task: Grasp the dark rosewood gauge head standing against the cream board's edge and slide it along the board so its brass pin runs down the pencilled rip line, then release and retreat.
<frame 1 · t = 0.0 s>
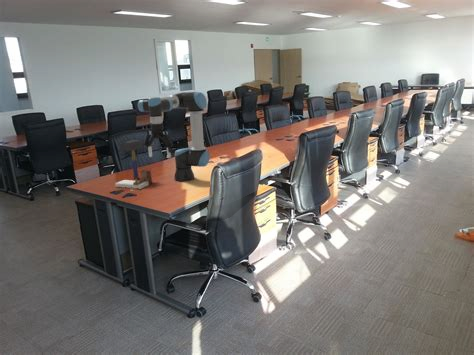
hand: (159, 157, 248), 28 cm above the table, fingers open, 13 cm apart
gauge: (146, 183, 296), on the table
board: (132, 185, 291), on the table
rubber mallet: (136, 178, 312), on the table
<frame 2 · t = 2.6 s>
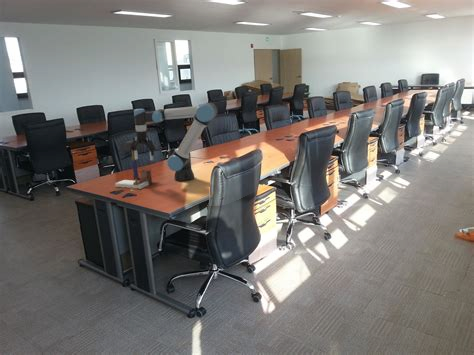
hand: (144, 159, 291), 18 cm above the table, fingers open, 13 cm apart
nothing on the table moved.
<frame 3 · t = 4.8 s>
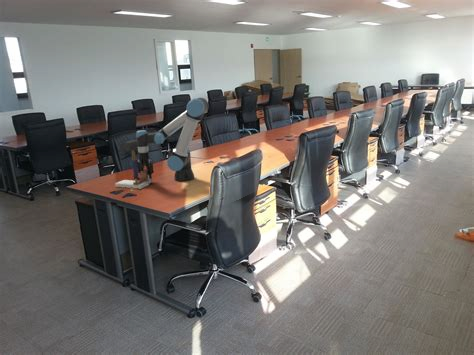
hand: (146, 182, 296), 1 cm above the table, fingers closed on gauge, 5 cm apart
gauge: (146, 183, 296), on the table, touching gripper
everything else where it was.
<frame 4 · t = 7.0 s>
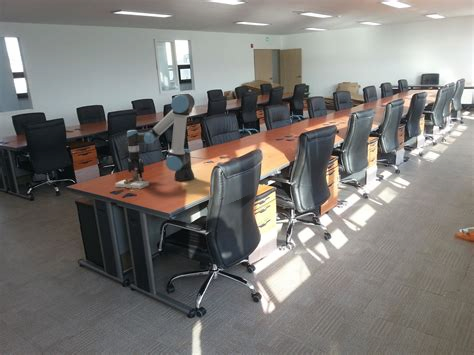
hand: (137, 181, 299), 1 cm above the table, fingers closed on gauge, 5 cm apart
gauge: (137, 182, 299), on the table, touching gripper
everything else where it was.
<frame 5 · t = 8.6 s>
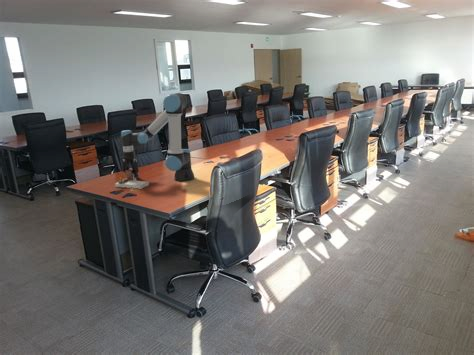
hand: (131, 181, 301), 1 cm above the table, fingers closed on gauge, 5 cm apart
gauge: (132, 182, 301), on the table, touching gripper
everything else where it was.
when the fingers open (1 cm above the table, at t = 9.4 s): gauge stays where it is, on the table.
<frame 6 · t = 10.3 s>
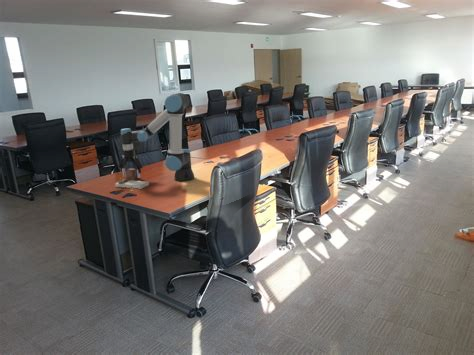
hand: (131, 177, 300), 4 cm above the table, fingers open, 13 cm apart
gauge: (132, 182, 301), on the table
everything else where it was.
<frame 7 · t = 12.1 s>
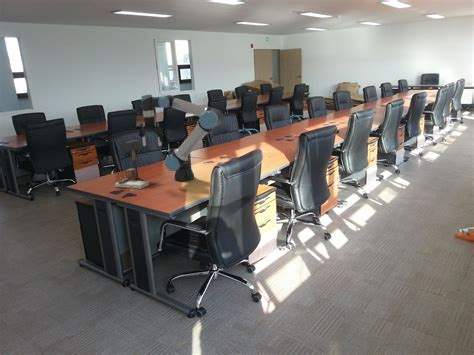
hand: (152, 145, 289), 28 cm above the table, fingers open, 13 cm apart
nothing on the table moved.
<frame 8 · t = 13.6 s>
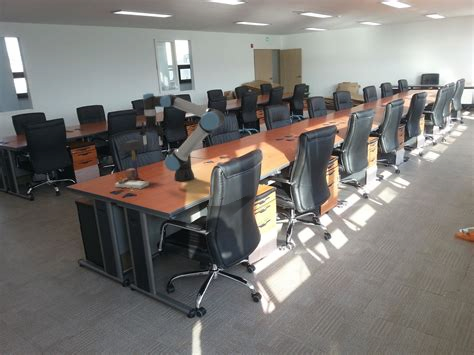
hand: (153, 144, 289), 29 cm above the table, fingers open, 13 cm apart
nothing on the table moved.
at the end: gauge 0.3 cm from the target spot on the table beside the board, on the table; gauge moved 13.5 cm from its start; gauge tilted 0° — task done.
